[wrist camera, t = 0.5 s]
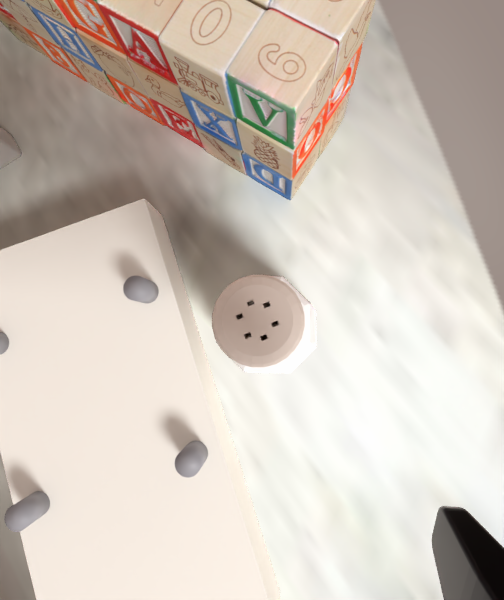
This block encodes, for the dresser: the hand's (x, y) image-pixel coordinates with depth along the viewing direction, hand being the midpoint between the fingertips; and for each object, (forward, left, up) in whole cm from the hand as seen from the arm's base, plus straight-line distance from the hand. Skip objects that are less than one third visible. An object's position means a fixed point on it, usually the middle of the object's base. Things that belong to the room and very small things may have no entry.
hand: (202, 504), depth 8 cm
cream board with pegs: (-6, +5, -15) cm, 16 cm away
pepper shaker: (+3, +2, -15) cm, 15 cm away
